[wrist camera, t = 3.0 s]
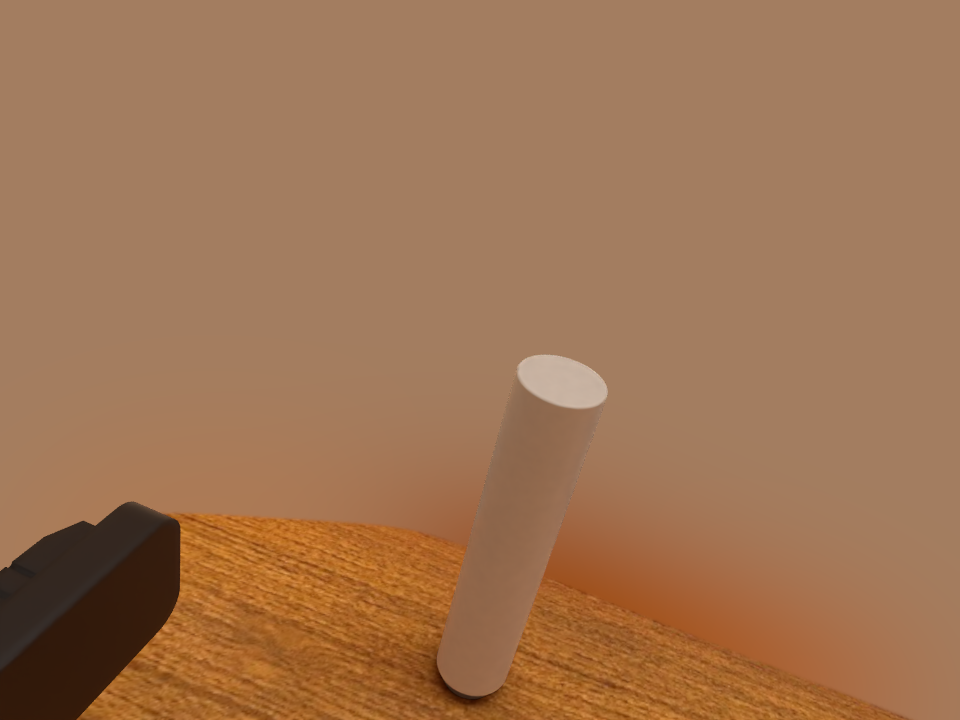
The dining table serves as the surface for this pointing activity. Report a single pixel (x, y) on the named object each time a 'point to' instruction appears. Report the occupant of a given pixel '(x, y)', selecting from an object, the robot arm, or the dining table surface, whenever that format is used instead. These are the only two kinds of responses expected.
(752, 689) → the dining table surface
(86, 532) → the robot arm
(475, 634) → the white cylindrical rod
